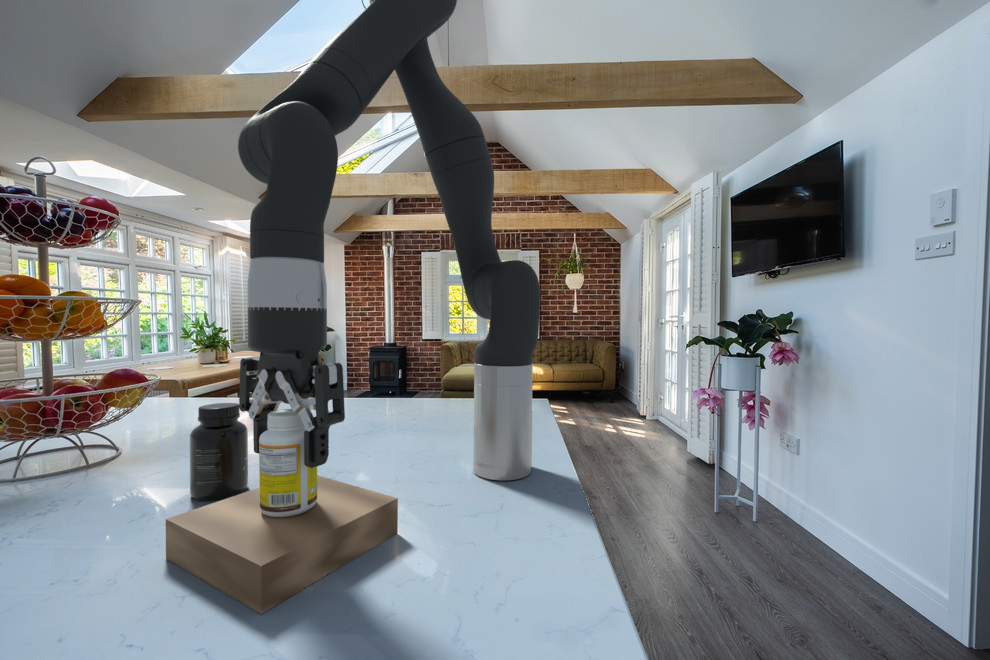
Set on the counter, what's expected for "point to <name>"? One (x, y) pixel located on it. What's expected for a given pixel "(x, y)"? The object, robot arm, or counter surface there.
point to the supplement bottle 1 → (218, 453)
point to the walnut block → (278, 541)
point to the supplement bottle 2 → (285, 467)
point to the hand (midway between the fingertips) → (289, 458)
